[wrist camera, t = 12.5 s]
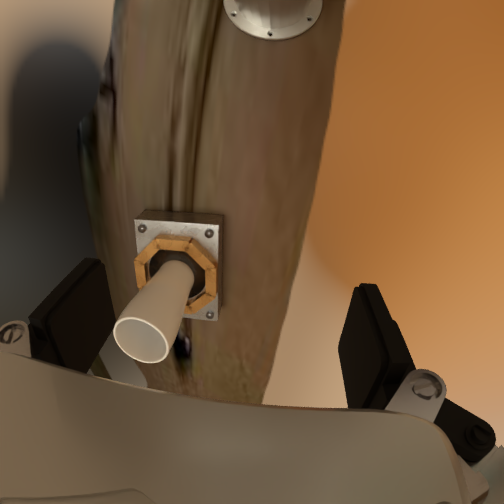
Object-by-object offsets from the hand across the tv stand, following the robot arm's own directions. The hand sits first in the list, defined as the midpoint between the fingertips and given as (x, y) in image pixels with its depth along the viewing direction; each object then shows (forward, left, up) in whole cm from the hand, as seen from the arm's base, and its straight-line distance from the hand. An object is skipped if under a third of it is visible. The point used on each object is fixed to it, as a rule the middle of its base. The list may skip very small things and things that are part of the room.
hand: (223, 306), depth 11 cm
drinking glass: (+17, -11, -29) cm, 36 cm away
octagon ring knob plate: (+17, -11, -33) cm, 39 cm away
